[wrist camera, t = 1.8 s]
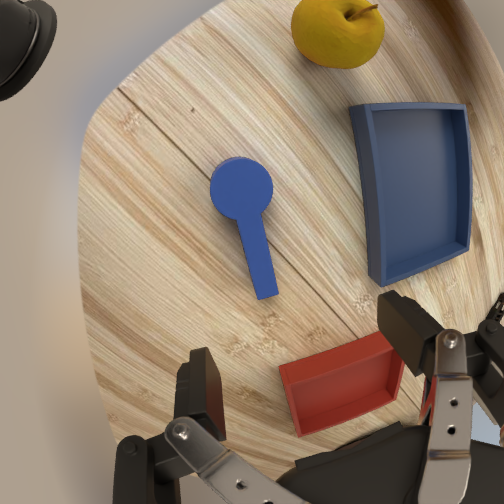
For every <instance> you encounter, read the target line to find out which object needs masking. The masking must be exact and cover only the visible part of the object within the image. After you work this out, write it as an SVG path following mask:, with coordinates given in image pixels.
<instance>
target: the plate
mask: <svg viewBox="0 0 504 504" xmlns="http://www.w3.org/2000/svg"><path fill="white" fill-rule="evenodd" d="M367 438H368V437H367ZM365 439H366V438H365ZM365 439H362V440H359V441H356V442H354V443H352V444H349V445H347V446H345V447H342V448H340V449H338V450H345V449H351V448H353V447H355V446H356V445H358V444H359V443H361V442H362V441H364V440H365ZM338 450H336V451H338Z"/></svg>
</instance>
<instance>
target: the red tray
mask: <svg viewBox="0 0 504 504" xmlns="http://www.w3.org/2000/svg"><path fill="white" fill-rule="evenodd" d="M404 365H405V363H404V361H403V360H402V359H401V358H400V356H399V355H398V354H397V352H396V351H395V350H394V348H393V347H392V346H391V345H390V343H389V342H388V341H387V339H386V338H385V337H384V336H383V334H382V333H381V332H380V331H378V332H376V333H373V334H371V335H368V336H366V337H363V338H361V339H358V340H355V341H353V342H350V343H347V344H345V345H342V346H339V347H336V348H334V349H331V350H328V351H325V352H322V353H319V354H316V355H313V356H310V357H307V358H304V359H301V360H297V361H294V362H291V363H287V364H284V365H281V366H279V371H280V375H281V378H282V382H283V386H284V390H285V393H286V397H287V401H288V404H289V408H290V412H291V416H292V419H293V423H294V426H295V429H296V433H297V436H298V438H299V437H302V436H305V435H309V434H312V433H315V432H318V431H321V430H324V429H327V428H330V427H333V426H336V425H338V424H341V423H344V422H346V421H349V420H351V419H354V418H356V417H359V416H361V415H364V414H366V413H368V412H371V411H373V410H375V409H377V408H380V407H382V406H384V405H386V404H388V403H390V402H392V401H394V400H396V398H397V394H398V390H399V387H400V383H401V378H402V374H403V370H404Z"/></svg>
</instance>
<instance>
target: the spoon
mask: <svg viewBox="0 0 504 504" xmlns="http://www.w3.org/2000/svg"><path fill="white" fill-rule="evenodd" d="M272 194H273V183H272V179H271V177H270V175H269V173H268V171H267V170H266V169H265V168H264V167H263V166H262V165H261V164H259V163H257V162H255V161H253V160H251V159H248V158H245V157H233V158H230V159H227V160H225V161H223V162H222V163H221V164H219V165H218V166H217V168H216V169H215V170H214V172H213V174H212V177H211V181H210V195H211V199H212V202H213V204H214V206H215V207H216V209H217V210H218V211H219V212H220V213H221V214H223V215H224V216H226V217H228V218H231V219H234V220H236V222H237V226H238V230H239V234H240V237H241V241H242V245H243V249H244V252H245V256H246V260H247V264H248V267H249V271H250V275H251V278H252V282H253V286H254V289H255V292H256V296H257V299H258V300H260V299H264V298H268V297H271V296H275V295H278V294H279V292H278V287H277V283H276V278H275V274H274V269H273V265H272V261H271V256H270V252H269V247H268V243H267V239H266V234H265V230H264V226H263V221H262V217H261V213H262V212H263V211H264V210H265V209H266V208H267V206H268V205H269V203H270V201H271V198H272Z"/></svg>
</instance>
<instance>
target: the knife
mask: <svg viewBox="0 0 504 504" xmlns="http://www.w3.org/2000/svg"><path fill="white" fill-rule="evenodd" d="M500 298H501V299H502V300H500ZM498 301H500V302H501V304H500V306H499V307H498V309H496V308H495V307H496V305H497V303H498ZM503 304H504V293H502V294H500V296H499V298H498V300H497V302H496V303H495V305H494V306H493V307H492V309H491V311H490V312H489V314H488V316H487V318H486V319H485V320H487V319H491V320H495V321H497V322H499V323H500V320H501V319H502V317H503V315H504V310H503V311H502V310H501V309H502V307H503Z"/></svg>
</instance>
